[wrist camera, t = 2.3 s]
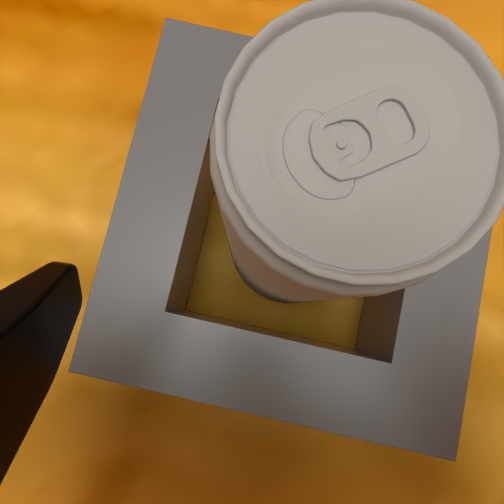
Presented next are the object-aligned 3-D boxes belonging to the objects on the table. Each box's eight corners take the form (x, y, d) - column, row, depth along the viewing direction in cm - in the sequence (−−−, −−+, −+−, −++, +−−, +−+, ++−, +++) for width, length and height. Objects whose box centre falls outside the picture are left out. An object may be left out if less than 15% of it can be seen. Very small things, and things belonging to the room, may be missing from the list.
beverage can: (213, 217, 18) (153, 52, 6) (315, 173, 19) (438, -62, 7) (259, 321, 18) (286, 352, 6) (363, 274, 18) (588, 214, 6)
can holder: (449, 144, 19) (512, 94, 14) (401, 421, 17) (455, 461, 13) (184, 85, 19) (165, 17, 15) (113, 355, 18) (68, 371, 13)
